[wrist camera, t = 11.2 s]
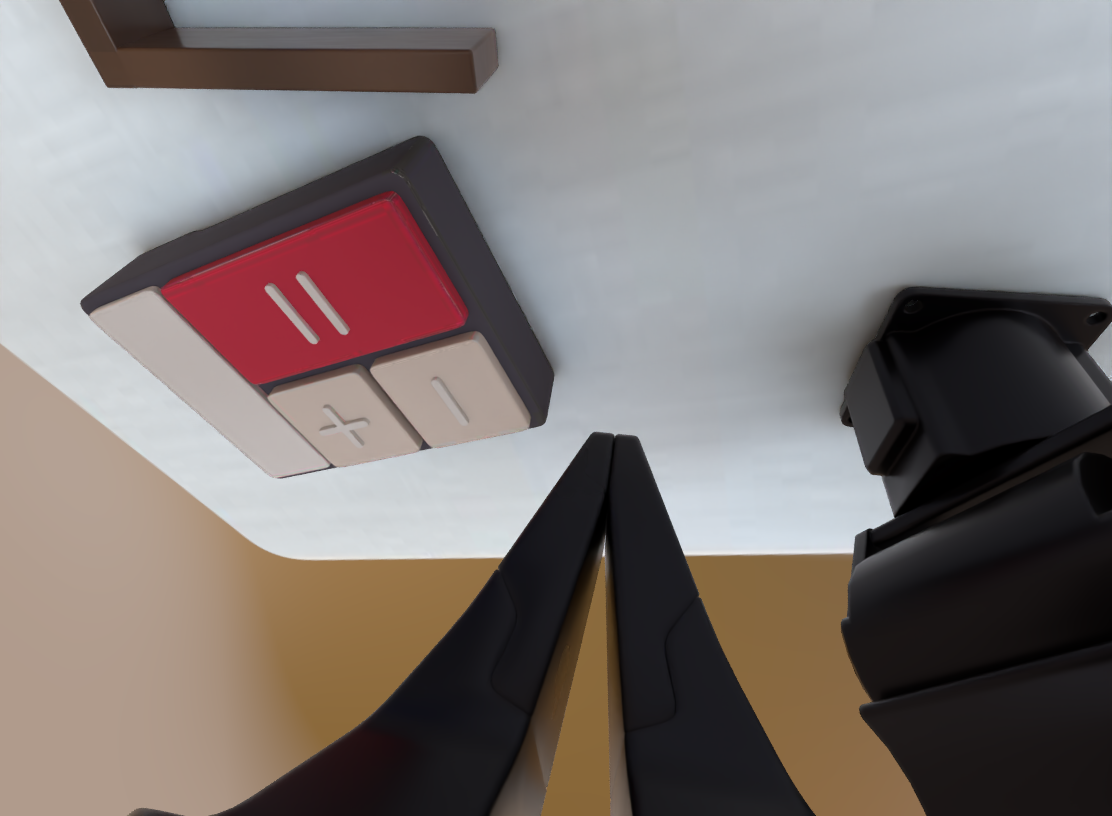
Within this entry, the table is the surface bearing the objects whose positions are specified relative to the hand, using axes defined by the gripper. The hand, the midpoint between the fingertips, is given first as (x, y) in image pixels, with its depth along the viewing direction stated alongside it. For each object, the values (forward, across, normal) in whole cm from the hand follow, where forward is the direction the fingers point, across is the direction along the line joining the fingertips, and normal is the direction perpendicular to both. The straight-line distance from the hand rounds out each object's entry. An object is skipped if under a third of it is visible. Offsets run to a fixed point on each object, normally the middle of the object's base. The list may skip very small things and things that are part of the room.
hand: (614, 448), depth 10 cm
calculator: (+11, +12, +6) cm, 17 cm away
